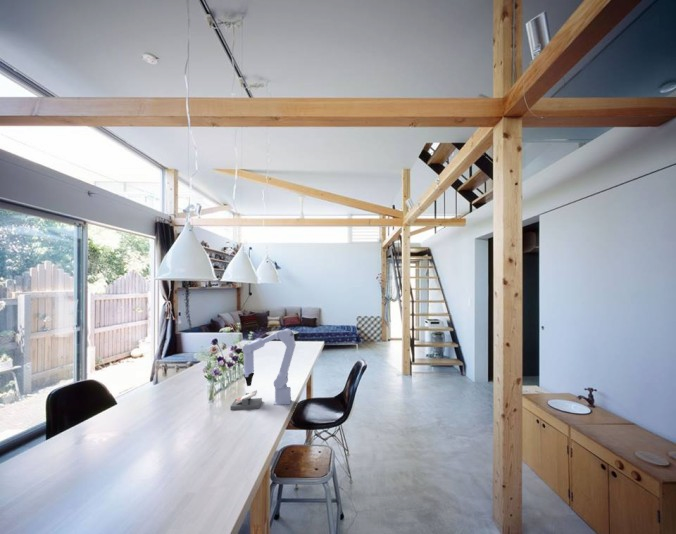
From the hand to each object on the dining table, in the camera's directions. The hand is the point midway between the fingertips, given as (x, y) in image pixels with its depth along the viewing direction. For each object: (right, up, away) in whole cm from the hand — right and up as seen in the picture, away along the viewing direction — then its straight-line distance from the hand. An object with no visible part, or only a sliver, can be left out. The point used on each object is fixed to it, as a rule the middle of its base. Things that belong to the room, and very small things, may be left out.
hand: (249, 385), depth 196 cm
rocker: (+1, -4, -7) cm, 8 cm away
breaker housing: (+1, -9, -7) cm, 12 cm away
